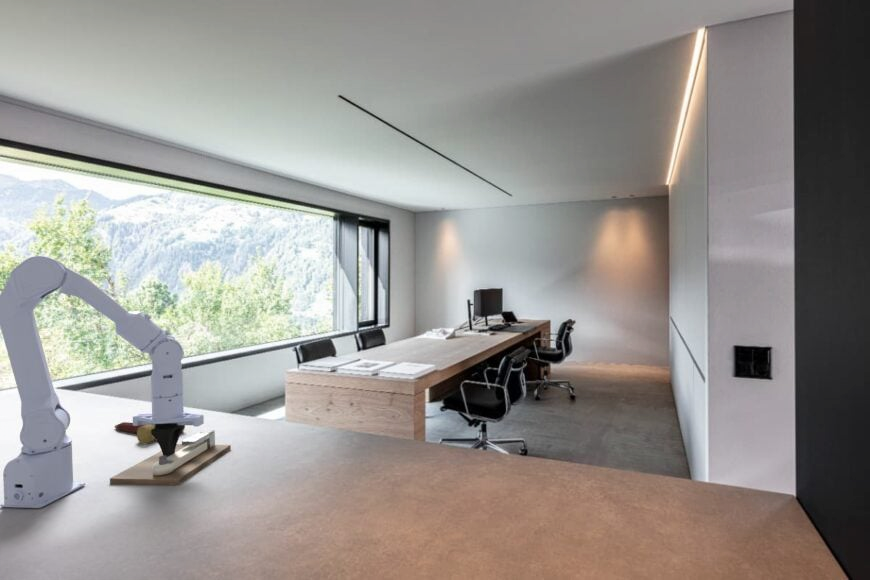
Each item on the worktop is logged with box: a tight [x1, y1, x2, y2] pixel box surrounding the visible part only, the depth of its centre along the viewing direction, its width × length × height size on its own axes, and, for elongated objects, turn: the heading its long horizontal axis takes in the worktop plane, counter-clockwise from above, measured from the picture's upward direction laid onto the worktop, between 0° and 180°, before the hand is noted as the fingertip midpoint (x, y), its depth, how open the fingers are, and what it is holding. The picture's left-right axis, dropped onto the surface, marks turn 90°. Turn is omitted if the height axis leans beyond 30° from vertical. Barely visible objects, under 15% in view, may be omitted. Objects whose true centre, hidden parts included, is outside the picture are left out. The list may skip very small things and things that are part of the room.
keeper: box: [181, 429, 216, 449], centre depth 104 cm, size 8×3×4 cm, turn 174°
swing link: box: [153, 442, 207, 475], centre depth 97 cm, size 14×4×3 cm, turn 174°
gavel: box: [114, 421, 186, 445], centre depth 121 cm, size 21×5×10 cm
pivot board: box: [109, 443, 231, 486], centre depth 99 cm, size 19×14×1 cm
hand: (169, 459), depth 97 cm, fingers closed
